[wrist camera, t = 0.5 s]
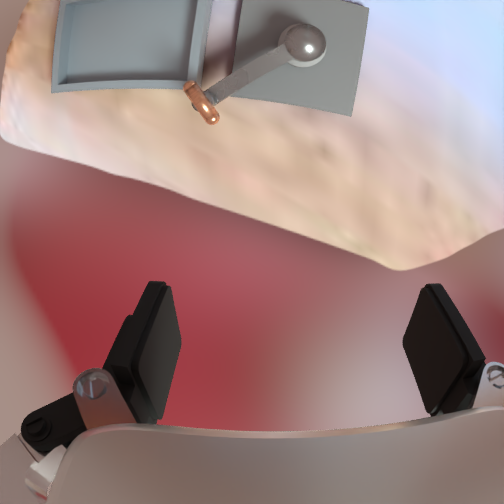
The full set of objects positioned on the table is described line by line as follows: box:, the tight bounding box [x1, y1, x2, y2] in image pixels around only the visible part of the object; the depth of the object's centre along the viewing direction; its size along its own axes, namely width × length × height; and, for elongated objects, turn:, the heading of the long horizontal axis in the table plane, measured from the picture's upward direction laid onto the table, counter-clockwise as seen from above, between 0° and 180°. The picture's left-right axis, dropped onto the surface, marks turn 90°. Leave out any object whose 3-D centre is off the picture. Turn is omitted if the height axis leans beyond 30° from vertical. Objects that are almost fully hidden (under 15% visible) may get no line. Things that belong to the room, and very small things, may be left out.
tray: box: [51, 0, 213, 93], centre depth 28 cm, size 13×19×3 cm
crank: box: [183, 24, 326, 125], centre depth 27 cm, size 14×5×5 cm, turn 123°
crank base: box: [230, 0, 369, 117], centre depth 29 cm, size 14×14×3 cm
